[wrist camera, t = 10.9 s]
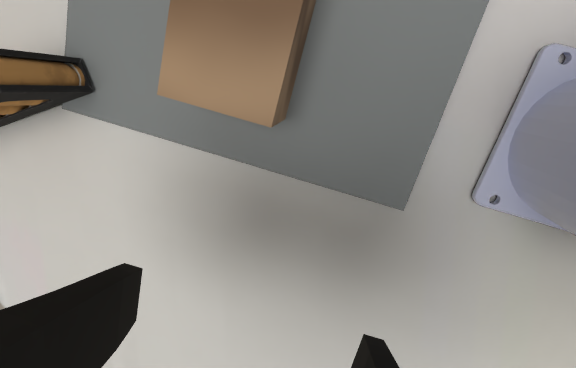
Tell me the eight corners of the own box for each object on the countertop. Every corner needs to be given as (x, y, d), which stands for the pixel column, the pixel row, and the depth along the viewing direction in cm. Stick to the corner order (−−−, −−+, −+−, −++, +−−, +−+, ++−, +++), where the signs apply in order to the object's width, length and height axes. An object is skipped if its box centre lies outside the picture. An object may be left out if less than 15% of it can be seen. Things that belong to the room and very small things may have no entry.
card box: (284, 119, 17) (271, 127, 14) (195, 93, 18) (156, 94, 14) (336, -79, 15) (337, -139, 11) (229, -107, 15) (194, -173, 11)
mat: (532, -116, 14) (538, -122, 13) (401, 208, 18) (403, 210, 18) (88, -224, 15) (81, -232, 14) (67, 108, 19) (62, 108, 19)
